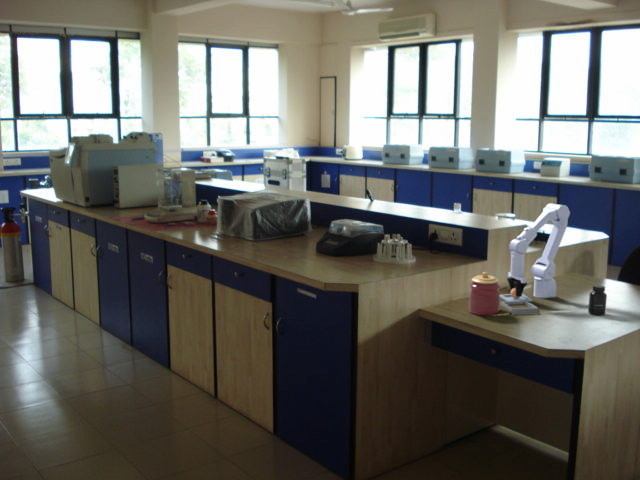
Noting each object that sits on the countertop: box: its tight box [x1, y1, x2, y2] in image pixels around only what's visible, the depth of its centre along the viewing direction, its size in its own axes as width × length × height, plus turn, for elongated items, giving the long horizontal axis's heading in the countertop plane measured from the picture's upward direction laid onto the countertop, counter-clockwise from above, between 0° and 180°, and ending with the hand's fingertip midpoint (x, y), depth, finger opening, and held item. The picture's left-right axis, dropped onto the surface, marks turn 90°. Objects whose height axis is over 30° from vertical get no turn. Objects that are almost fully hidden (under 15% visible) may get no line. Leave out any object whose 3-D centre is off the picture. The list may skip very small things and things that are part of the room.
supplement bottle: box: [587, 284, 608, 316], centre depth 286 cm, size 7×7×12 cm
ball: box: [510, 288, 520, 299], centre depth 307 cm, size 5×5×5 cm
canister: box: [468, 271, 501, 316], centre depth 289 cm, size 13×13×18 cm
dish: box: [500, 293, 534, 303], centre depth 307 cm, size 11×11×2 cm
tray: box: [499, 301, 540, 315], centre depth 293 cm, size 12×12×2 cm
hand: (516, 294), depth 307 cm, fingers closed on ball, 5 cm apart
